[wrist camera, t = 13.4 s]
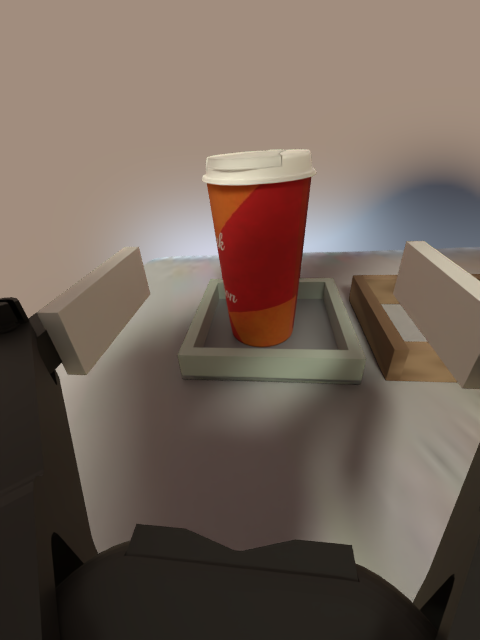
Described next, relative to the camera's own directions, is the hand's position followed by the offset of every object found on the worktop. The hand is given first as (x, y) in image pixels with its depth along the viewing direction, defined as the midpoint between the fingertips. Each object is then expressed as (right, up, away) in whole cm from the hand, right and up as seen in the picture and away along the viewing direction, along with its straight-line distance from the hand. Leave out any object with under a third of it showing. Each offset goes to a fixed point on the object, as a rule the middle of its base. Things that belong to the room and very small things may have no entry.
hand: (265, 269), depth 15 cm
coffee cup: (+1, -4, +14) cm, 14 cm away
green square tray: (+2, -4, +14) cm, 15 cm away
